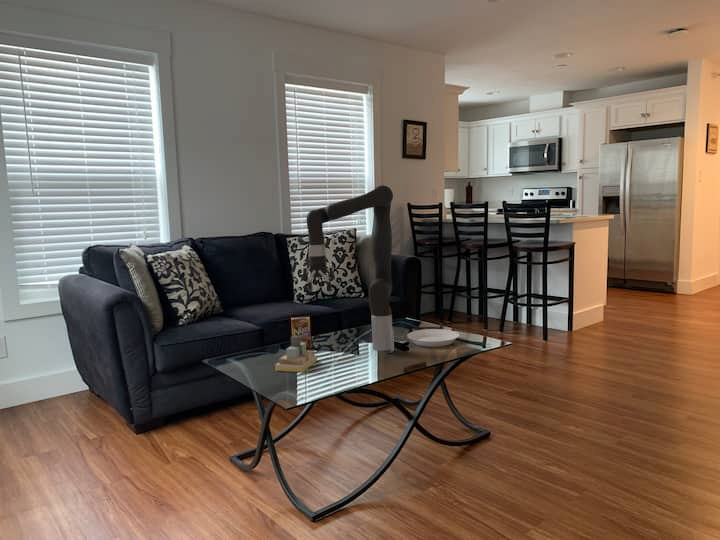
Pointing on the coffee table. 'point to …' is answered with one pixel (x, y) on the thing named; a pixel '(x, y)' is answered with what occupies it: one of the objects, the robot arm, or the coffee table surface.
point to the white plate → (433, 337)
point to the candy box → (302, 329)
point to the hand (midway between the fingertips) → (319, 290)
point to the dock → (296, 366)
